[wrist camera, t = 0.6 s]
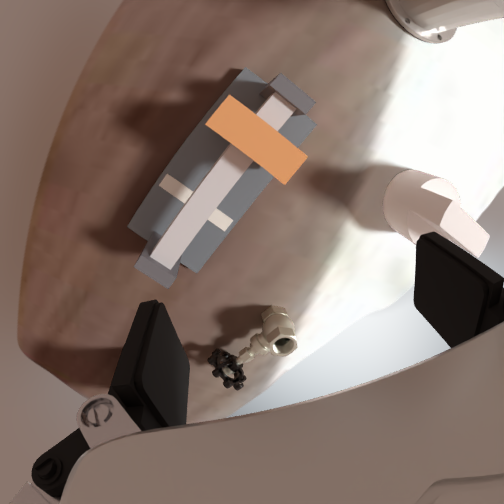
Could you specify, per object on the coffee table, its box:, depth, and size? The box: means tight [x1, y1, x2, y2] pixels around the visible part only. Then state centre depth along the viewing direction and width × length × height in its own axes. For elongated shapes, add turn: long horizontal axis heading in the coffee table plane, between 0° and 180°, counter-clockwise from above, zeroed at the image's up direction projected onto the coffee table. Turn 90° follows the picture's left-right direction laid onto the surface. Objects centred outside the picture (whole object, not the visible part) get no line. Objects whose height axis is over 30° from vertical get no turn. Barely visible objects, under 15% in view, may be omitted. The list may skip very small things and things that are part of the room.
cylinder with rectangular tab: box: [383, 170, 490, 258], centre depth 32 cm, size 9×9×12 cm
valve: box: [208, 306, 297, 390], centre depth 40 cm, size 7×7×12 cm
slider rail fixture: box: [127, 67, 317, 289], centre depth 30 cm, size 22×10×8 cm, turn 141°
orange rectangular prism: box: [205, 95, 307, 185], centre depth 27 cm, size 3×8×8 cm, turn 51°
